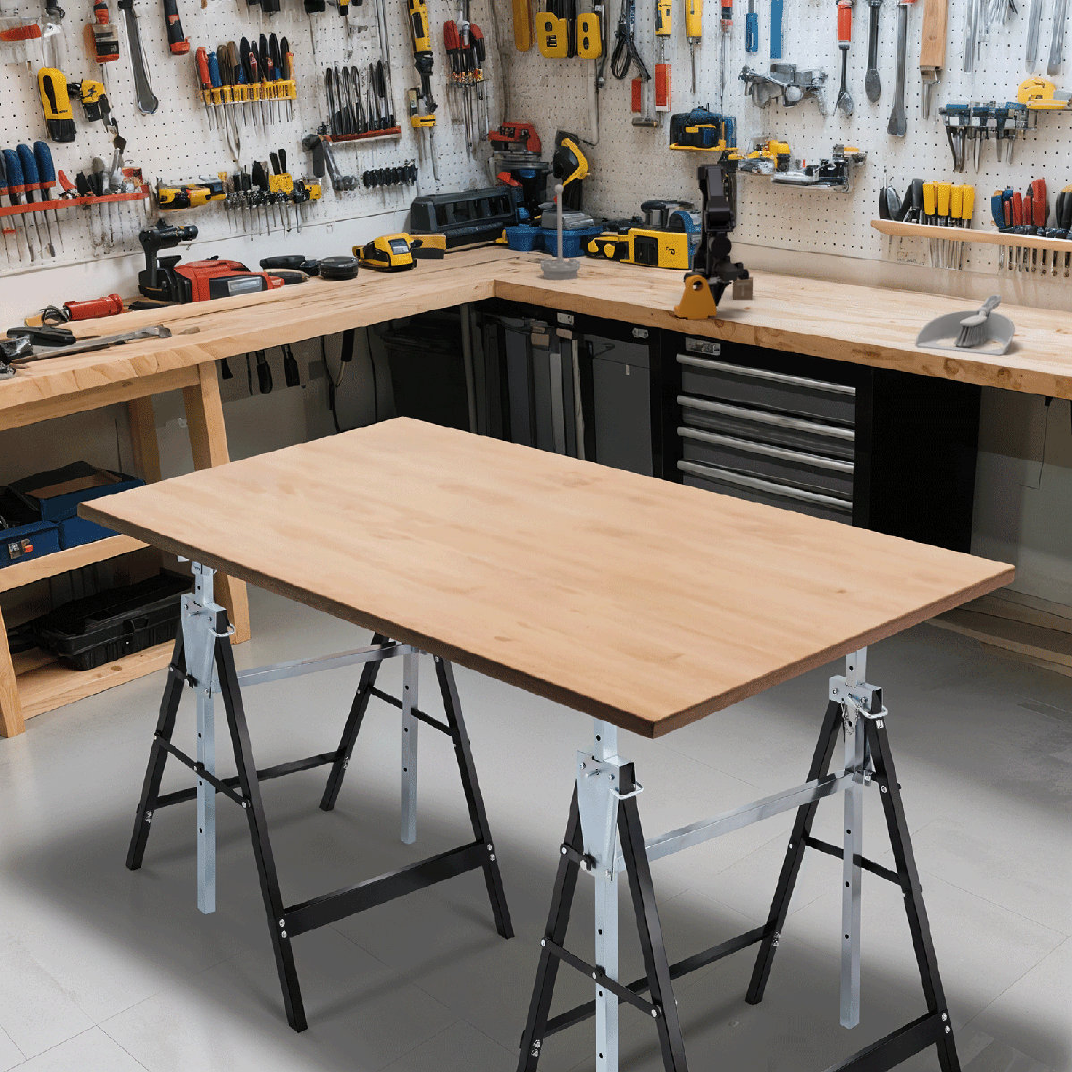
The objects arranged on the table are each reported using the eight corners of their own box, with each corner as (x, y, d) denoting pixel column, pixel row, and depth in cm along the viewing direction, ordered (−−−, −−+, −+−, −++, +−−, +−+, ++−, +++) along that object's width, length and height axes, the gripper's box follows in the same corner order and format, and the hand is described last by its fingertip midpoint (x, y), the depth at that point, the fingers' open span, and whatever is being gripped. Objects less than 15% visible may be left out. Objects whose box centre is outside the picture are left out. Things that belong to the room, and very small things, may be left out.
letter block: (732, 296, 414) (733, 276, 412) (752, 296, 413) (753, 276, 411) (732, 300, 408) (733, 280, 406) (752, 300, 407) (753, 280, 405)
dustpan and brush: (911, 347, 345) (914, 310, 342) (952, 323, 371) (955, 289, 368) (1004, 357, 333) (1007, 319, 330) (1039, 332, 359) (1043, 296, 356)
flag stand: (586, 278, 449) (585, 184, 438) (550, 281, 444) (548, 187, 433) (570, 272, 460) (569, 181, 449) (534, 275, 455) (532, 183, 445)
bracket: (709, 313, 391) (710, 271, 387) (716, 318, 384) (717, 275, 380) (673, 315, 389) (673, 273, 385) (679, 320, 383) (679, 277, 378)
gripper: (703, 258, 374) (702, 314, 380) (761, 252, 381) (759, 307, 387) (683, 252, 383) (682, 307, 389) (739, 247, 391) (737, 301, 396)
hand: (715, 306), depth 390 cm, fingers closed
